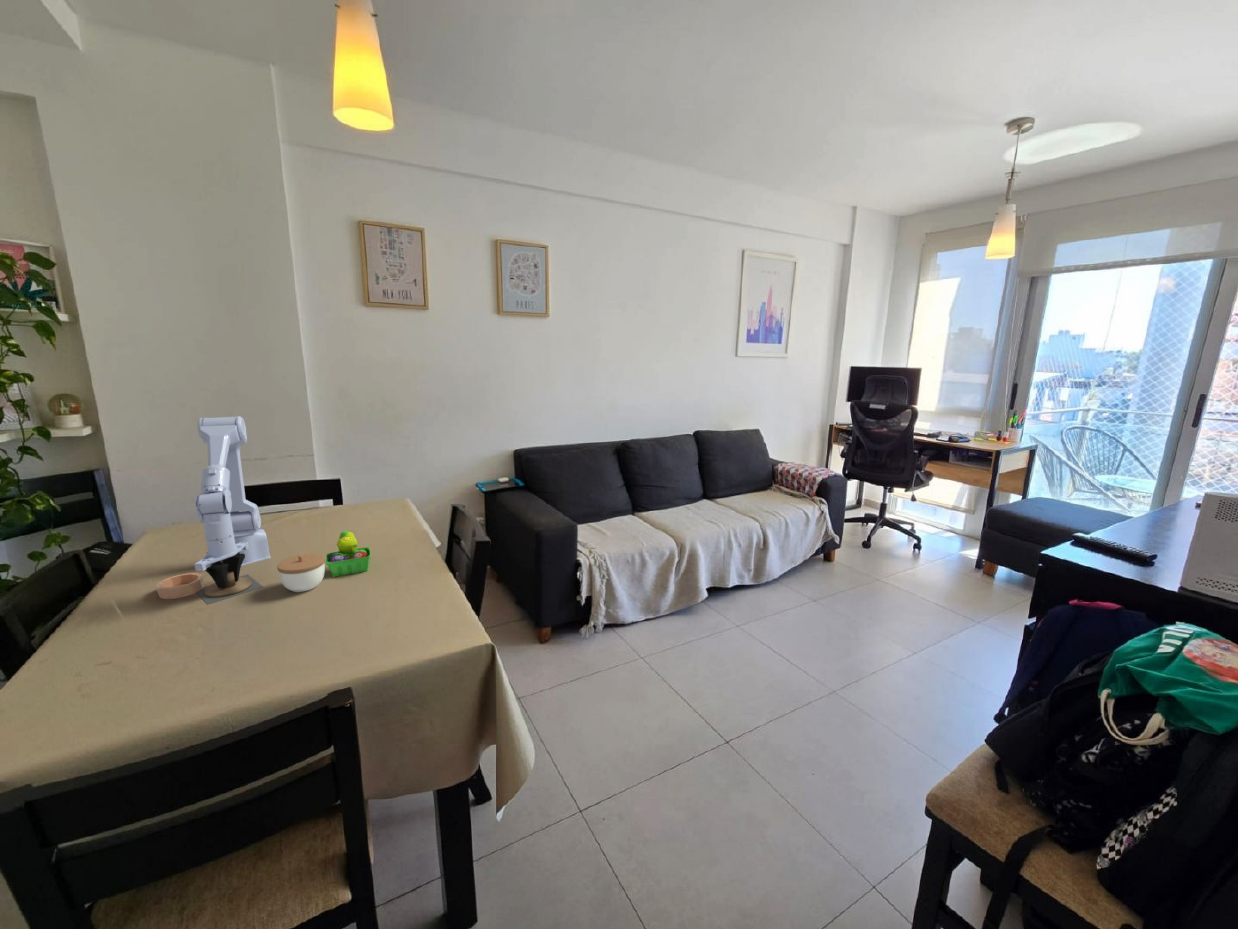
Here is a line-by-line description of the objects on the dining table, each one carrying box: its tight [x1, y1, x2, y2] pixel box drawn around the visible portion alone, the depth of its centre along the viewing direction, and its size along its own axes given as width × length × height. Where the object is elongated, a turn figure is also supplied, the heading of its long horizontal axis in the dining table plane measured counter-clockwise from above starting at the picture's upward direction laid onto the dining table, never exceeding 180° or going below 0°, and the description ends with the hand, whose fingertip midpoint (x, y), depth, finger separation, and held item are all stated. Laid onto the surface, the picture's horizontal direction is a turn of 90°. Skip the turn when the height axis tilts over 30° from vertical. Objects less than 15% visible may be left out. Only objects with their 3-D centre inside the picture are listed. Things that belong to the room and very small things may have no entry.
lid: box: [204, 571, 252, 598], centre depth 131 cm, size 10×10×4 cm
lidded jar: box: [276, 553, 326, 593], centre depth 133 cm, size 11×11×9 cm
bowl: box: [155, 572, 205, 600], centre depth 130 cm, size 9×9×3 cm
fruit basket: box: [325, 530, 372, 578], centre depth 144 cm, size 11×9×11 cm
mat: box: [195, 573, 264, 605], centre depth 132 cm, size 12×12×1 cm
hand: (228, 584), depth 131 cm, fingers closed on lid, 3 cm apart
